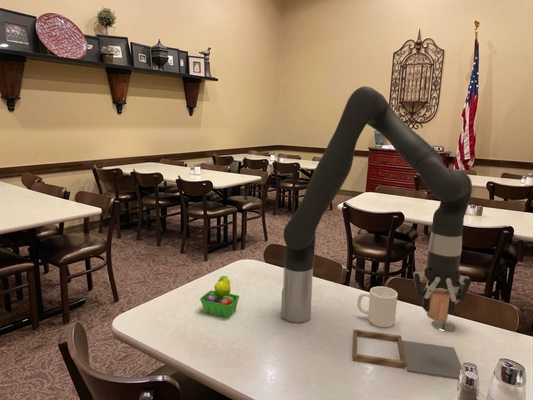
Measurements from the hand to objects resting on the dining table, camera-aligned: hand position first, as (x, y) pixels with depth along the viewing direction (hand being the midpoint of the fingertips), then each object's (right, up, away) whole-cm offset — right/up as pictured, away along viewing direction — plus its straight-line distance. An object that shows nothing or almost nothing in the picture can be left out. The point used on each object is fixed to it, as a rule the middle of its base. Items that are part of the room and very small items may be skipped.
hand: (437, 311), depth 102 cm
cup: (-10, -10, +23) cm, 27 cm away
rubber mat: (0, -14, +3) cm, 14 cm away
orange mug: (0, -1, 0) cm, 1 cm away
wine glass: (+11, -11, +20) cm, 26 cm away
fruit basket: (-60, -8, +27) cm, 67 cm away
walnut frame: (-14, -13, +7) cm, 20 cm away
